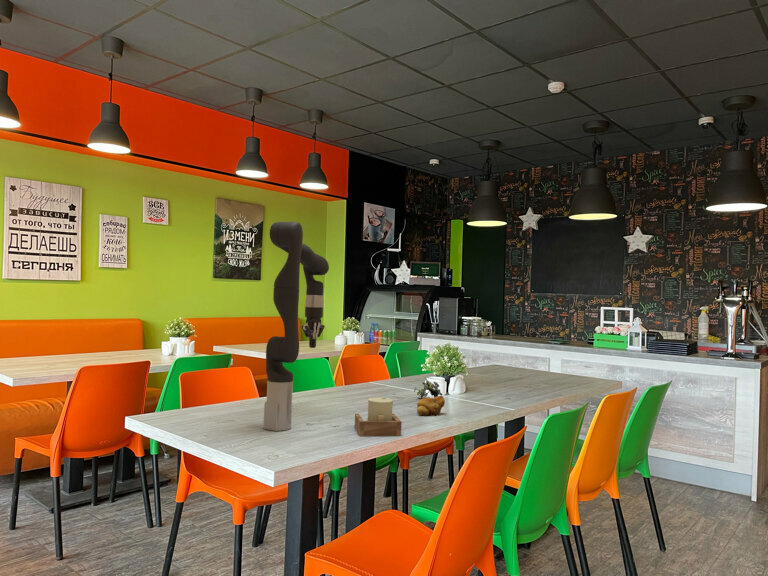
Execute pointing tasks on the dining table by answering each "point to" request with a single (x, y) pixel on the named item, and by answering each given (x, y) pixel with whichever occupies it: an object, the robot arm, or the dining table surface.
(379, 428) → the brown open square box
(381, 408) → the can
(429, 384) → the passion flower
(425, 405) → the bread roll
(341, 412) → the dining table surface
